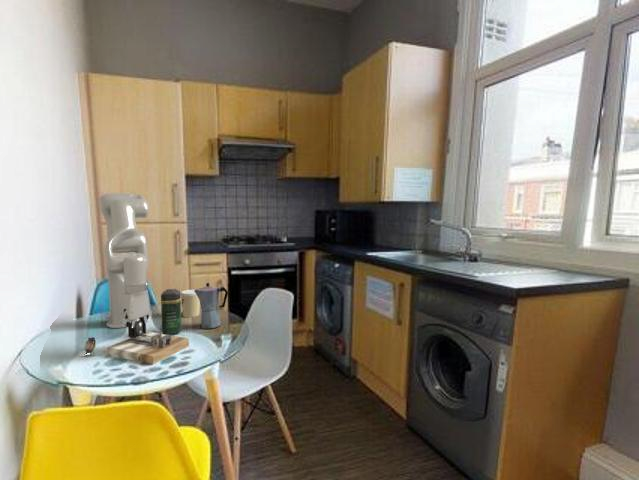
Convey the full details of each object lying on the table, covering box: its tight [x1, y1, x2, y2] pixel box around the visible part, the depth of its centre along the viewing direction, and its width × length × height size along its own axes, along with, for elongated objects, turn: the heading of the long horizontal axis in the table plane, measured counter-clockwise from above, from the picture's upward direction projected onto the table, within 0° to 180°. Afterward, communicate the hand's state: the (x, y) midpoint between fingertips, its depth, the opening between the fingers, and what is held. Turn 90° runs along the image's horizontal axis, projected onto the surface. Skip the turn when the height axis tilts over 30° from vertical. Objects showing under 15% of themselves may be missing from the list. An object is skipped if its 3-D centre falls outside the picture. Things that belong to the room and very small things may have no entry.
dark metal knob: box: [129, 319, 160, 343], centre depth 139 cm, size 13×4×7 cm, turn 69°
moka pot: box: [194, 282, 229, 330], centre depth 166 cm, size 10×15×20 cm, turn 95°
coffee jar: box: [160, 288, 182, 336], centre depth 158 cm, size 10×8×19 cm
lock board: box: [106, 330, 190, 365], centre depth 138 cm, size 22×18×6 cm
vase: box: [83, 336, 97, 357], centre depth 135 cm, size 5×5×6 cm
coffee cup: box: [180, 289, 201, 318], centre depth 183 cm, size 9×9×12 cm
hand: (137, 334), depth 140 cm, fingers closed on dark metal knob, 4 cm apart
